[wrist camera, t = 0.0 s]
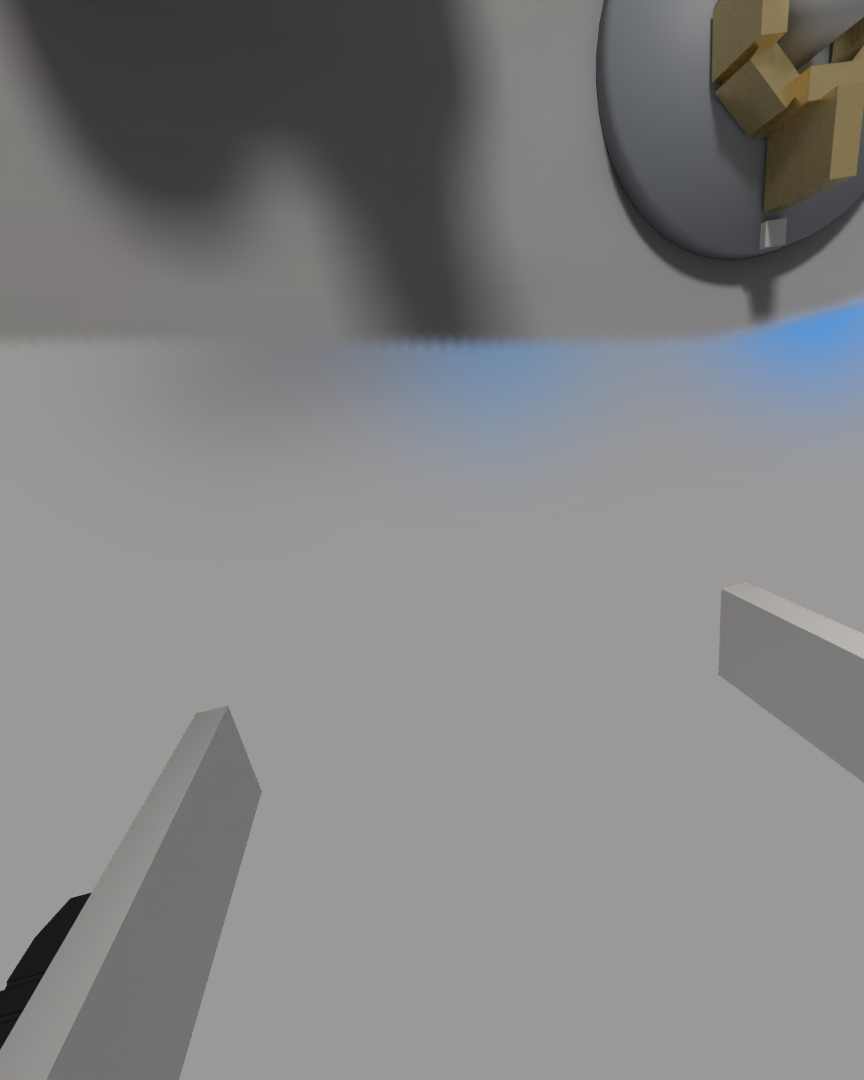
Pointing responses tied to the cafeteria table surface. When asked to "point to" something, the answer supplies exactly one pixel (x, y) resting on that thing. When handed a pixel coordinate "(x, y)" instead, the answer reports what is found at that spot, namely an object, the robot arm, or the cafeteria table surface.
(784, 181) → the ring nut
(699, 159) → the flange
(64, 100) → the cafeteria table surface
